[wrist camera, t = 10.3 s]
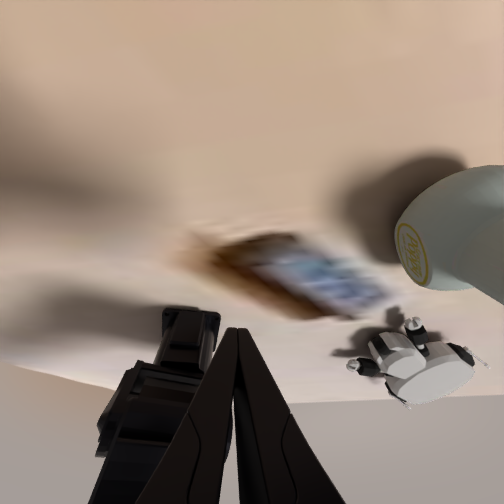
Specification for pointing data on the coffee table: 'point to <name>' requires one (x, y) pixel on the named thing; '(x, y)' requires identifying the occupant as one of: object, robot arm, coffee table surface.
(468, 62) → the coffee table surface
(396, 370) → the robot toy
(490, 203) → the air freshener
